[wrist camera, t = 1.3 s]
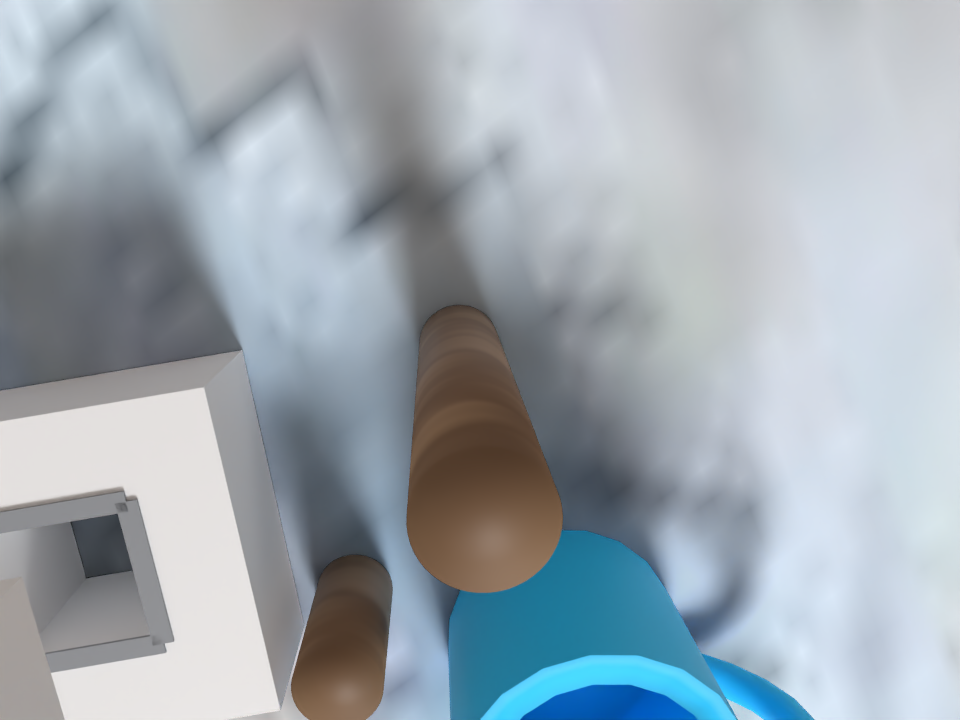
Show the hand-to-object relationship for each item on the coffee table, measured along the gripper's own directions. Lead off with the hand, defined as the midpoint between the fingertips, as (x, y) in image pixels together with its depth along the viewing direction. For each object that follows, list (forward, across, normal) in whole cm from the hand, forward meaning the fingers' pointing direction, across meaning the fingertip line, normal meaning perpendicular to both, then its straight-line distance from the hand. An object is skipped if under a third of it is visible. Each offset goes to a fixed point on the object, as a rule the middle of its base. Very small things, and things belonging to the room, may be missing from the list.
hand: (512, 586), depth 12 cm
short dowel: (+18, -5, -8) cm, 20 cm away
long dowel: (+18, 0, 0) cm, 18 cm away
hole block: (+17, -12, -4) cm, 22 cm away
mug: (+18, +3, -12) cm, 22 cm away
